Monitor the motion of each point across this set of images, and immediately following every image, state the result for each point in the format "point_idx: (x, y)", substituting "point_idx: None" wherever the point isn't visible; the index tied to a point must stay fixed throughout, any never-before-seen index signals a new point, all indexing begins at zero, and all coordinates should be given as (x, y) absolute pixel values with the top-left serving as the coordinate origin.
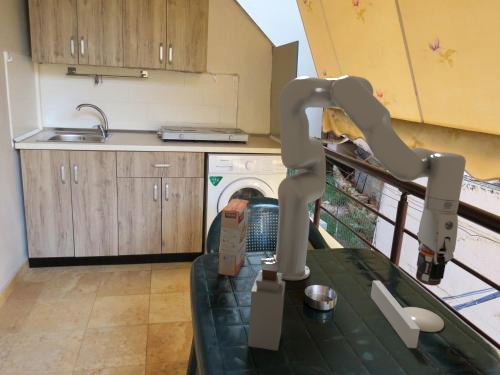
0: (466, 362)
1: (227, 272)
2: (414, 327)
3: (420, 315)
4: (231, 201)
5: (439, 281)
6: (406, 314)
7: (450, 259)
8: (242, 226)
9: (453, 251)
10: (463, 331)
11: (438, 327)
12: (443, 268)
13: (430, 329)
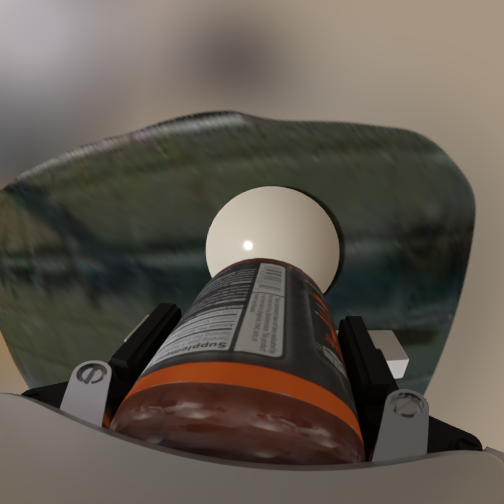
0: (453, 241)
1: None
2: (399, 369)
3: (256, 248)
4: None
5: (325, 299)
6: None
7: (496, 451)
8: None
9: (500, 471)
10: (339, 150)
11: (327, 228)
12: (395, 382)
13: (335, 259)
